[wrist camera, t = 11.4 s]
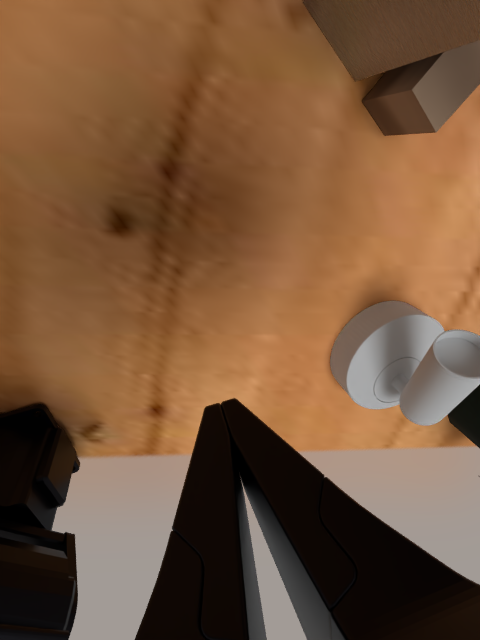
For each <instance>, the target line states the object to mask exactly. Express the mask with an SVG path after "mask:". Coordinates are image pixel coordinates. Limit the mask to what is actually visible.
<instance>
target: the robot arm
mask: <svg viewBox="0 0 480 640" xmlns="http://www.w3.org/2000/svg"><path fill="white" fill-rule="evenodd" d="M36 411H39V412H41V413H37V412H36ZM79 467H80V462H79V460H78V458H77V456H76V451H75V449H74V447H73V446H72V444H71V442H70V441H69V439H68V437H67V436H66V434H65V432H64V431H63V429H61V428H60V427H58V425H57V423H56V422H55V420H54V418H53V417H52V415H51V413H50V412H49V410H48V408H47V407H46V406H44V405H41V404H37V405H33V406H29V407H25V408H22V409H18V410H15V411H11V412H7V413H4V414H0V640H68V638H69V636H70V632H71V630H72V627H73V623H74V619H75V615H76V609H77V601H78V590H77V570H76V550H75V535H74V534H71V533H67V532H65V533H64V534H63V533H59V532H55V531H52V525H53V522H54V518H55V514H56V510H57V507H60V506H62V505H63V504H64V502H65V500H66V496H67V492H68V487H69V483H70V478H71V474H72V473H75V472H77V471H78V470H79ZM240 477H241V478H240ZM241 480H242V482H241ZM242 483H243V486H244V489H245V492H246V494H247V497H248V499H249V501H250V504H251V506H252V509H253V511H254V513H255V516H256V518H257V520H258V523H259V525H260V527H261V530H262V532H263V535H264V537H265V540H266V542H267V544H268V547H269V549H270V552H271V554H272V557H273V559H274V561H275V564H276V566H277V568H278V571H279V573H280V576H281V578H282V580H283V582H284V585H285V588H286V590H287V592H288V595H289V597H290V599H291V602H292V604H293V607H294V609H295V612H296V614H297V616H298V619H299V621H300V623H301V626H302V628H303V631H304V633H305V635H306V638H307V640H480V585H479V584H477V583H475V582H473V581H471V580H469V579H467V578H465V577H464V576H462V575H460V574H459V573H457V572H455V571H454V570H452V569H451V568H449V567H448V566H446V565H445V564H443V563H442V562H440V561H439V560H438V559H436V558H435V557H433V556H432V555H430V554H429V553H427V552H426V551H425V550H423V549H422V548H420V547H419V546H417V545H416V544H415V543H413V542H412V541H410V540H409V539H407V538H406V537H404V536H403V535H402V534H400V533H399V532H397V531H396V530H394V529H393V528H391V527H390V526H389V525H387V524H386V523H384V522H383V521H381V520H380V519H379V518H377V517H376V516H375V515H373V514H372V513H371V512H369V511H368V510H366V509H365V508H364V507H362V506H361V505H359V504H358V503H357V502H356V501H355V500H353V499H352V498H351V497H350V496H348V495H347V494H346V493H345V492H344V491H342V490H341V489H340V488H339V487H337V486H336V485H335V484H334V483H333V482H332V481H331V480H330V479H328V478H327V477H325V478H324V475H323V474H322V473H321V472H320V471H319V470H318V469H317V468H315V467H314V466H313V465H312V464H311V463H310V462H308V461H307V460H306V459H305V458H304V457H303V456H302V455H300V454H299V453H298V452H297V451H296V450H295V449H294V448H292V447H291V446H290V445H289V444H288V443H287V442H286V441H284V440H283V439H282V438H281V437H280V436H279V435H277V434H276V433H275V432H274V431H273V430H272V429H271V428H269V427H268V426H267V425H266V424H265V423H264V422H262V421H261V420H260V419H259V418H258V417H257V416H256V415H254V414H253V413H252V412H251V411H250V410H249V409H247V408H246V407H245V406H244V405H243V404H242V403H241V402H239V401H238V400H237V399H235V398H233V399H230V400H226V401H223V402H222V403H221V404H220V403H216V404H213V405H210V406H207V407H205V409H204V412H203V416H202V420H201V424H200V427H199V431H198V435H197V438H196V442H195V446H194V449H193V453H192V457H191V460H190V464H189V468H188V471H187V475H186V479H185V482H184V486H183V490H182V493H181V497H180V501H179V504H178V508H177V512H176V515H175V519H174V523H173V526H172V529H173V531H171V533H170V537H169V541H168V545H167V548H166V551H165V555H164V558H163V561H162V565H161V568H160V571H159V574H158V578H157V581H156V584H155V587H154V589H153V592H152V595H151V598H150V600H149V603H148V606H147V609H146V611H145V614H144V617H143V619H142V622H141V625H140V627H139V630H138V632H137V635H136V638H135V640H267V638H266V632H265V626H264V620H263V613H262V606H261V600H260V594H259V587H258V581H257V575H256V568H255V561H254V555H253V549H252V542H251V536H250V529H249V523H248V517H247V510H246V504H245V497H244V492H243V487H242Z"/></svg>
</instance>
